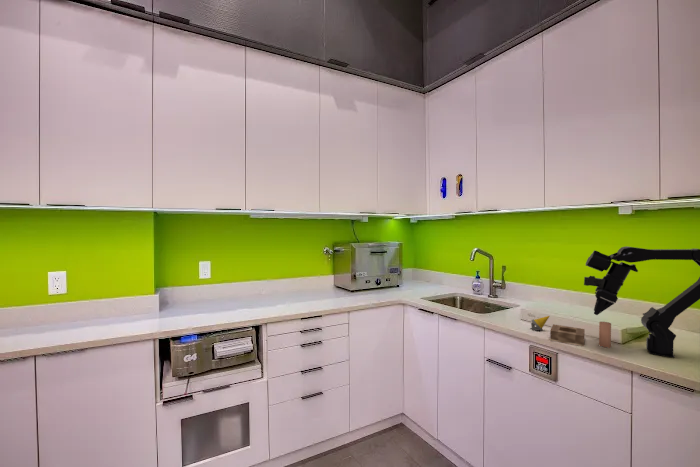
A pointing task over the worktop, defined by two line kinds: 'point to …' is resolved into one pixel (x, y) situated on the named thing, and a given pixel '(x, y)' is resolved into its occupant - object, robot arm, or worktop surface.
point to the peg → (605, 334)
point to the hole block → (567, 335)
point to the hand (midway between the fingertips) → (595, 312)
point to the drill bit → (539, 323)
